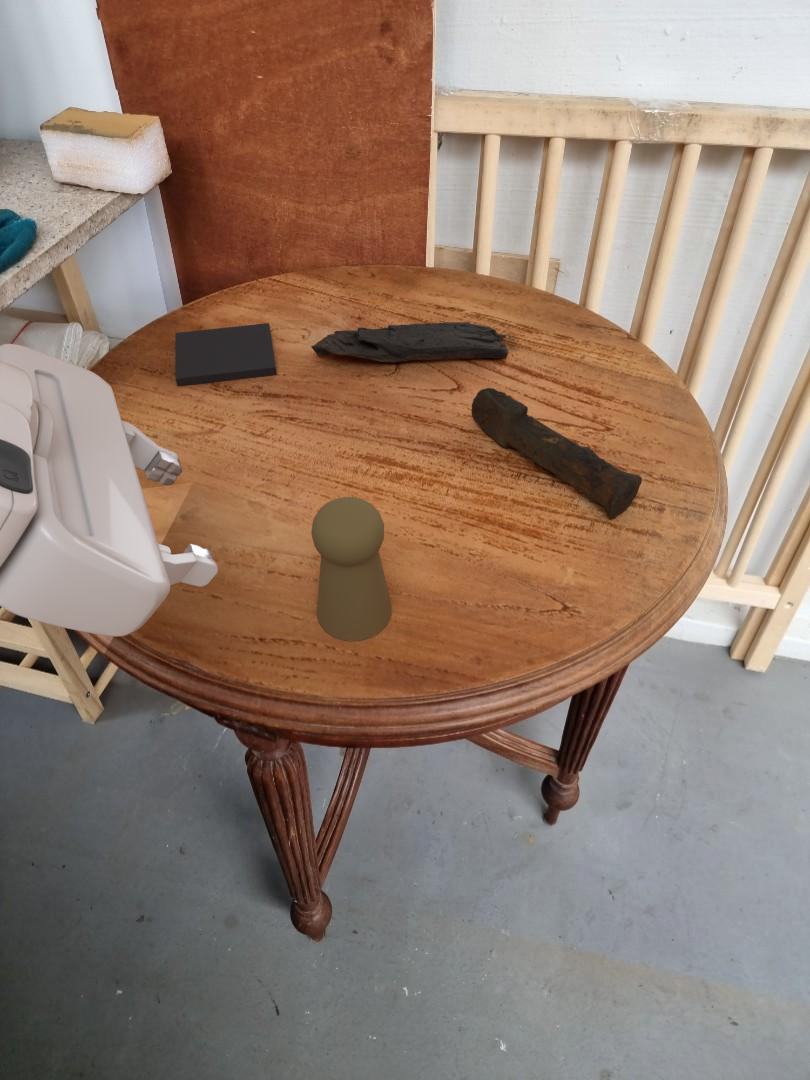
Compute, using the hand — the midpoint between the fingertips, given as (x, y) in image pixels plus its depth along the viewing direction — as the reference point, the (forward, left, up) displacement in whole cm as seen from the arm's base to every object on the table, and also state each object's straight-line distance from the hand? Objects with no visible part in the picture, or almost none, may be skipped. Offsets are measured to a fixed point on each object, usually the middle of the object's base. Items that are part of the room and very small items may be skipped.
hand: (191, 517), depth 49 cm
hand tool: (+30, +16, -15) cm, 37 cm away
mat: (+1, +40, -15) cm, 43 cm away
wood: (+22, +38, -15) cm, 46 cm away
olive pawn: (+10, +2, -15) cm, 18 cm away
